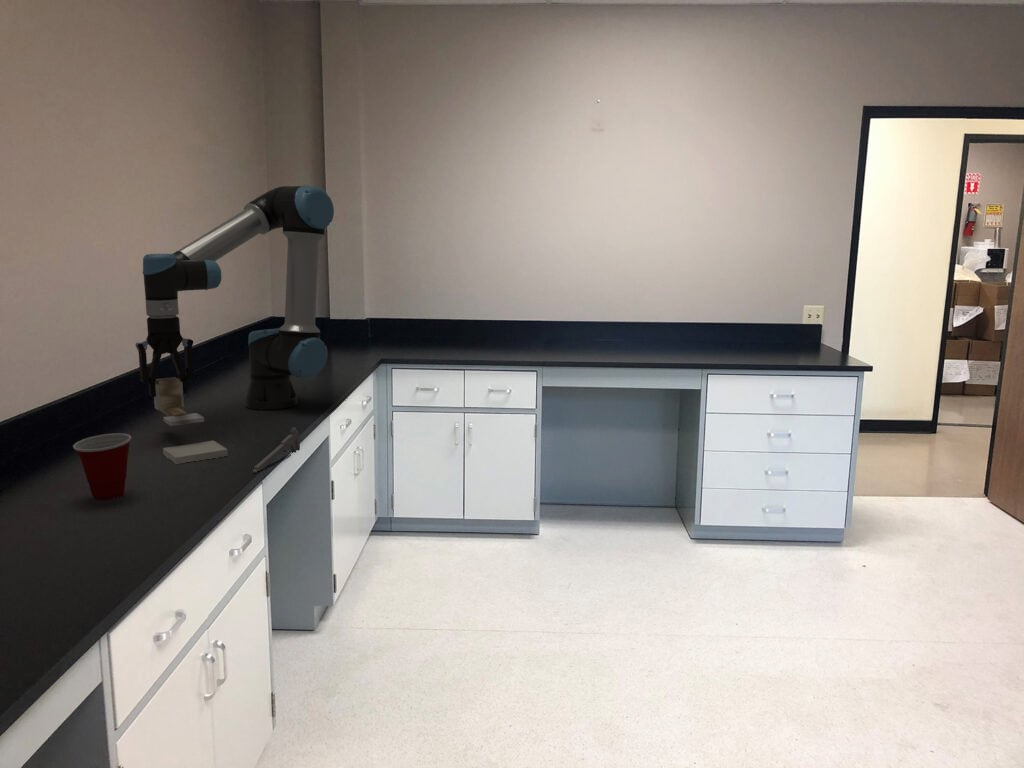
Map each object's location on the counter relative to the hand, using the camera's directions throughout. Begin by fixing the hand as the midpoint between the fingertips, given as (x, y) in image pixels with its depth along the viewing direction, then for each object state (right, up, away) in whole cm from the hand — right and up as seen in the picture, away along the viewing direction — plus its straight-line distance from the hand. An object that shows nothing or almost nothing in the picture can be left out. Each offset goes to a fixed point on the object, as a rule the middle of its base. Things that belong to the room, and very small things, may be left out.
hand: (169, 407), depth 218 cm
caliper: (+32, -13, -17) cm, 39 cm away
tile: (+9, -10, -9) cm, 16 cm away
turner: (+2, -2, -2) cm, 4 cm away
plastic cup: (+4, -17, -43) cm, 46 cm away
